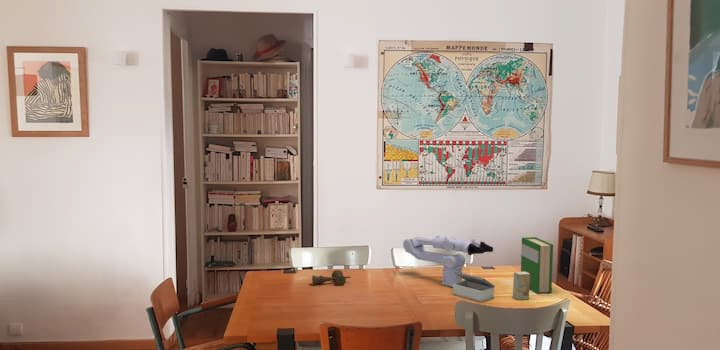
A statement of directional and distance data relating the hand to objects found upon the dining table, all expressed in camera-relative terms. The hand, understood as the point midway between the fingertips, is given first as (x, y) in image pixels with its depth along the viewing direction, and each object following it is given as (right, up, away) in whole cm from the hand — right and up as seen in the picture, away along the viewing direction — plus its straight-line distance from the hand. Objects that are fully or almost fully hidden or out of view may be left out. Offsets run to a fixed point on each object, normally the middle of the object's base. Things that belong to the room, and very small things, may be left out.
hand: (488, 250), depth 257 cm
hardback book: (+26, -21, +11) cm, 35 cm away
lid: (-7, -14, -2) cm, 16 cm away
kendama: (-75, -20, +18) cm, 80 cm away
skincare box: (+14, -22, -5) cm, 27 cm away
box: (-8, -21, -2) cm, 23 cm away
